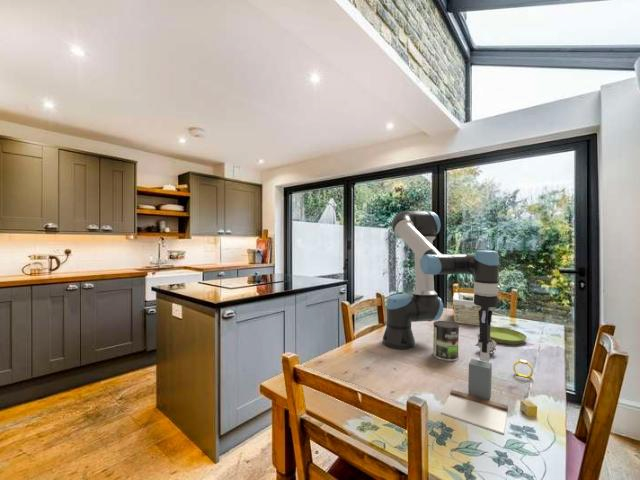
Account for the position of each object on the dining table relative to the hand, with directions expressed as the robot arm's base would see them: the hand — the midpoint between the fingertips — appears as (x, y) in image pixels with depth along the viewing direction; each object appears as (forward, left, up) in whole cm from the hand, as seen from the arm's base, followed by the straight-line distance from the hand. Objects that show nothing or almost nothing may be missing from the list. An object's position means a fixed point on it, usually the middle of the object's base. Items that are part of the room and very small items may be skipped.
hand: (484, 360), depth 107 cm
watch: (+11, +16, -9) cm, 21 cm away
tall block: (0, -10, -9) cm, 14 cm away
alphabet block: (+13, -12, -9) cm, 20 cm away
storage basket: (-20, +85, -9) cm, 88 cm away
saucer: (+1, +59, -9) cm, 59 cm away
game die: (-3, +33, -9) cm, 34 cm away
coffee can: (-17, +18, -9) cm, 26 cm away
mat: (0, -21, -8) cm, 23 cm away
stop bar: (0, -14, -8) cm, 17 cm away
